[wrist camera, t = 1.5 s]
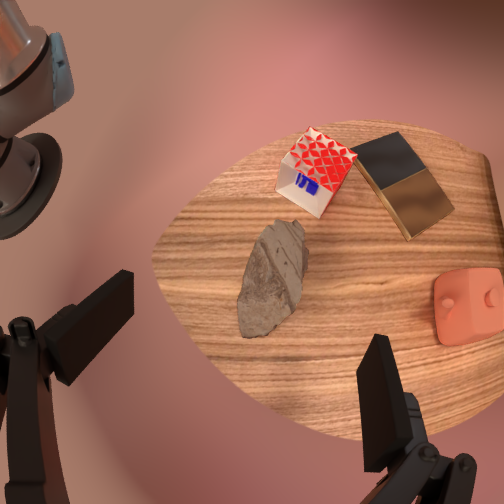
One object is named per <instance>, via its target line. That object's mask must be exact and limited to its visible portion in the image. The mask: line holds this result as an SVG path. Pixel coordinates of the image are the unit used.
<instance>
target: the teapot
mask: <svg viewBox="0 0 504 504" xmlns="http://www.w3.org/2000/svg"><path fill="white" fill-rule="evenodd" d="M434 311H435V320H436V327H437V333H438V338H439V341H440V342H441V343H442V344H444V345H448V346H454V345H464V344H470V343H474V342H477V341H481V340H484V339H487V338H489V337H492V336H494V335H496V334H497V333H499V332H501V331H502V330H504V286H503V281H502V277H501V273H500V271H499V269H497V268H465V269H456V270H452V271H448V272H446V273H443V274H441V275H440V276H439V277H438V278H437V280H436V282H435V286H434Z"/></svg>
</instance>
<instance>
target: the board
mask: <svg viewBox="0 0 504 504" xmlns="http://www.w3.org/2000/svg"><path fill="white" fill-rule="evenodd" d="M350 150H351V151H353V152H354V153H356V154H358V156H357V158H356V159H355V161H354V164H355V165H356V166H357V168H358V169H359V170H360V172H361V173H362V174H363V176H364V177H365V179H366V180H367V181H368V183H369V184H370V186H371V187H372V188H373V190H374V191H375V193H376V194H377V196H378V197H379V198H380V200H381V201H382V203H383V204H384V206H385V207H386V209H387V210H388V212H389V213H390V215H391V216H392V218H393V220H394V221H395V223H396V224H397V226H398V227H399V229H400V230H401V232H402V234H403V235H404V237H405V239H406V240H407V241H409V240H411V239H412V238H414V237H415V236H417V235H418V234H420V233H421V232H423V231H424V230H426V229H427V228H429V227H430V226H432V225H433V224H435V223H436V222H438V221H439V220H441V219H442V218H444V217H445V216H447V215H448V214H449V213H451V212H452V211H453V210H455V208H454V207H453V205H452V204H451V202H450V201H449V199H448V198H447V196H446V195H445V193H444V192H443V190H442V189H441V187H440V186H439V184H438V183H437V181H436V180H435V179H434V177H433V176H432V174H431V173H430V172H429V170H428V169H427V167H426V166H425V165H424V163H423V162H422V161H421V159H420V158H419V157H418V155H417V154H416V153H415V152H414V150H413V149H412V148H411V147H410V145H409V144H408V143H407V142H406V140H405V139H404V138H403V137H402V135H401V134H400V133H399V132H395V133H392V134H389V135H386V136H383V137H380V138H378V139H375V140H372V141H369V142H367V143H364V144H361V145H358V146H356V147H353V148H350Z"/></svg>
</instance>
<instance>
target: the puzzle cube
mask: <svg viewBox="0 0 504 504" xmlns="http://www.w3.org/2000/svg"><path fill="white" fill-rule="evenodd" d="M357 156H358V154H356V153H354V152H353V151H351V150H350V149H348V148H346V147H345V146H343V145H341V144H340V143H338V142H336V141H335V140H333V139H331V138H329V137H328V136H326V135H324V134H323V133H321V132H319V131H317V130H315V129H314V128H312V127H309V128H308V129H307V130H306V131H305V133H304V134H303V135H302V136H301V137H300V139H299V140H298V141H297V142H296V143H295V145H294V146H293V147H292V148H291V149H290V151H289V152H288V153H287V154H286V155H285V156H284V157H283V159H282V160H281V162H280V167H279V172H278V177H277V182H276V187H275V191H276V192H278V193H279V194H281V195H282V196H284V197H286V198H287V199H289V200H290V201H292V202H294V203H295V204H297V205H298V206H300V207H302V208H303V209H305V210H306V211H308V212H309V213H311V214H312V215H314V216H316V217H317V218H319V219H320V217H321V216H322V214H323V213H324V211H325V210H326V208H327V206H328V205H329V203H330V202H331V200H332V199H333V197H334V196H335V194H336V192H337V191H338V190H339V188H340V186H341V185H342V183H343V181H344V179H345V178H346V176H347V174H348V172H349V170H350V169H351V167H352V165H353V163H354V161H355V159H356V158H357Z"/></svg>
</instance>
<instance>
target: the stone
mask: <svg viewBox="0 0 504 504" xmlns="http://www.w3.org/2000/svg"><path fill="white" fill-rule="evenodd" d="M304 234H305V232H304V229H303V227H302V226H301V224H300V223H299V222H298V221H297V220H296V219H295V220H294V221H293V222H286V221H282V220H279V219H277V220H275V221H274V224H273V225H268V226H267V227H265V229H264V230H263V232H262V233H261V234H260V235H259V237H258V239H257V241H256V243H255V245H254V248H253V251H252V253H251V255H250V258H249V261H248V263H247V266H246V269H245V273H244V275H243V284H242V289H241V292H240V294H239V296H238V303H237V308H238V320H239V327H240V331H241V333H242V337H243V338H253V337H255V338H256V337H257V336H259V335H264V336H267V335H268V334H269V332H270V331H272V330H274V329H275V328H276V326H277V325H280V324H281V322H282V321H283V320H284V319H285V317H286V316H289V315H290V314H292V313H293V312H294V311H295V309H296V304H297V303H298V302H299V301H300V298H301V291H302V280H303V278H304V273H305V271H306V270H307V268H308V254H309V250H308V249H307V248H306V247H305V244H304Z"/></svg>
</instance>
